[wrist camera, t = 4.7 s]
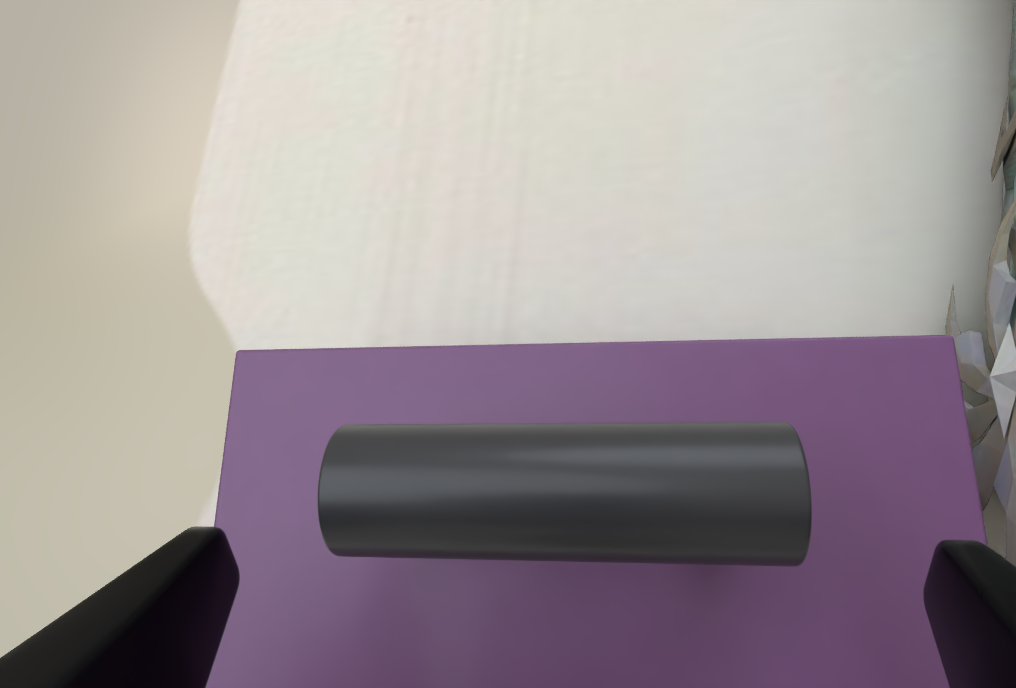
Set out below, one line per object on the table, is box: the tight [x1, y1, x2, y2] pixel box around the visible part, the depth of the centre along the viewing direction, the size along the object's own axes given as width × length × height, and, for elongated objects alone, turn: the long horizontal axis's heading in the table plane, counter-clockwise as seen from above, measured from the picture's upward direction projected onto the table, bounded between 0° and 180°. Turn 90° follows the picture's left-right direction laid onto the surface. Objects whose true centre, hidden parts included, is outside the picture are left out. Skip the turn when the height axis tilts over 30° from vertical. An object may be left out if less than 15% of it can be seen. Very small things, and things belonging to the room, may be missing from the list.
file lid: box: [205, 335, 987, 688], centre depth 10 cm, size 10×14×5 cm
